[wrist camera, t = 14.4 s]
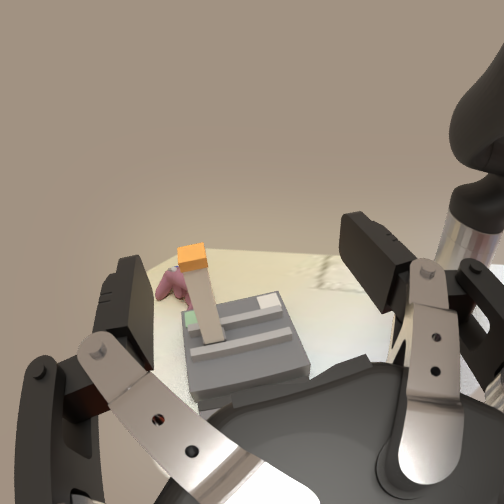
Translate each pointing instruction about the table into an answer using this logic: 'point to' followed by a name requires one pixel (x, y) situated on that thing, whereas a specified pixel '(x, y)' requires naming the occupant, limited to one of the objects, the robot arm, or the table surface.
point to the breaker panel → (244, 348)
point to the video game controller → (173, 285)
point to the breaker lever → (201, 292)
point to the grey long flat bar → (230, 400)
